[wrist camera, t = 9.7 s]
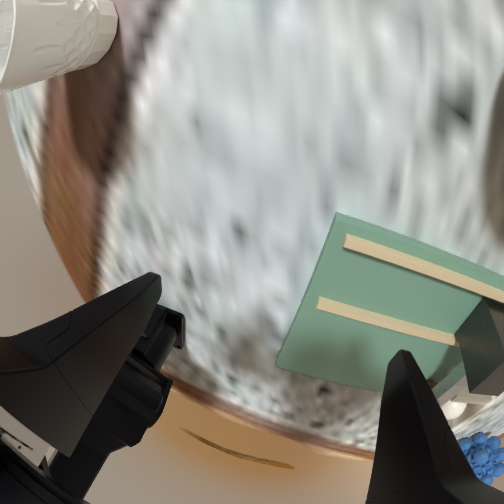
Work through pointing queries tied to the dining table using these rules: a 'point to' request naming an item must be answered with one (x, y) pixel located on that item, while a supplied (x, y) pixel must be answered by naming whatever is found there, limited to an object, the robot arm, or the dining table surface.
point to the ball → (453, 409)
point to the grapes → (484, 456)
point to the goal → (469, 405)
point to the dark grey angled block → (477, 355)
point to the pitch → (383, 306)
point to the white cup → (52, 38)
